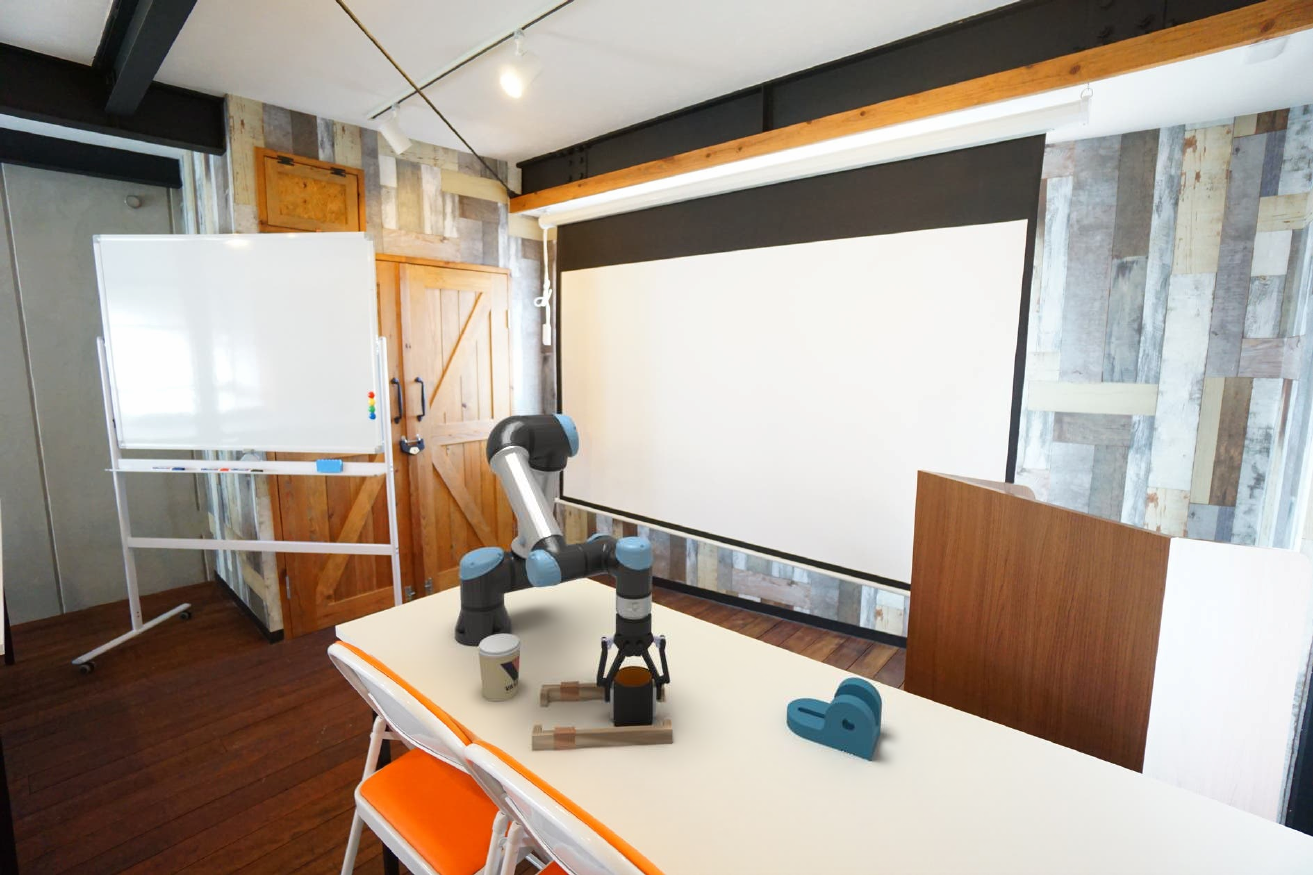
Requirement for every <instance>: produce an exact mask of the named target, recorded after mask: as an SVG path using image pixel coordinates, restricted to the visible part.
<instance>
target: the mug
mask: <svg viewBox="0 0 1313 875" xmlns="http://www.w3.org/2000/svg"><path fill="white" fill-rule="evenodd" d="M613 710H614V719H613V727H627V726H648V725H653V723H654V722H653V721H654V720H653V719H654V717H653V674H652V675H651V673H650V671H649V669H648V667H645V666H639V665H628V666H624V667H620V668H619V670H618V672H617V675H616V677H615V676H614V681H613Z"/></svg>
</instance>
